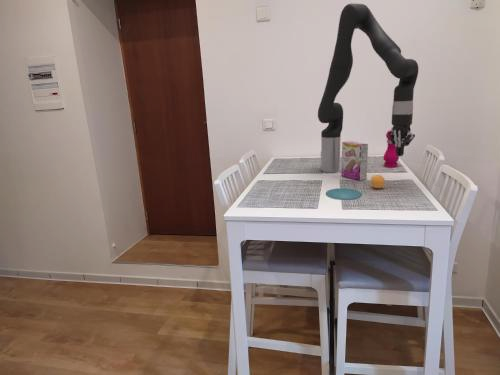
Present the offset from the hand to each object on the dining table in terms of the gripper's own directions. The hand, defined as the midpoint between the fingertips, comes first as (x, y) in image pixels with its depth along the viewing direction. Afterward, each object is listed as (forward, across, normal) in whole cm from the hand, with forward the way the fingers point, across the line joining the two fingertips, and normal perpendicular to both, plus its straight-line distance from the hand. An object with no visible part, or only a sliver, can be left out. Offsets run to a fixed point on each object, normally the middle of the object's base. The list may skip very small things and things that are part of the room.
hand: (399, 155), depth 138 cm
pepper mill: (+12, -27, +19) cm, 35 cm away
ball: (+10, 0, -10) cm, 14 cm away
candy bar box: (+12, -18, -9) cm, 24 cm away
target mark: (+12, 0, -26) cm, 29 cm away
